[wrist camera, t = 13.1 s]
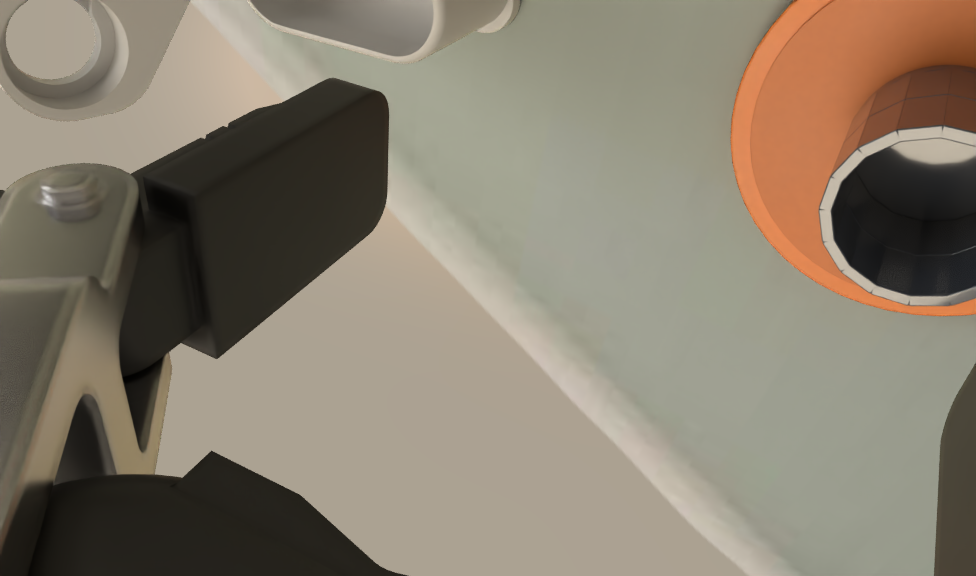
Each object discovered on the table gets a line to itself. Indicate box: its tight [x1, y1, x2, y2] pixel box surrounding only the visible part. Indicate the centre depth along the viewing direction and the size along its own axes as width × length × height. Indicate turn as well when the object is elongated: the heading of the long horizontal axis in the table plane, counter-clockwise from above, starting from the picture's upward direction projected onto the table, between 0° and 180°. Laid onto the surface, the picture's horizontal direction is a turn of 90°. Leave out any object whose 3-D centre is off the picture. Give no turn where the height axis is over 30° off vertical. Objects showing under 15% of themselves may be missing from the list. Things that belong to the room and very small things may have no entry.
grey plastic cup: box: [818, 65, 976, 306], centre depth 26 cm, size 6×6×6 cm
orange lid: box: [731, 0, 976, 316], centre depth 29 cm, size 14×14×2 cm
